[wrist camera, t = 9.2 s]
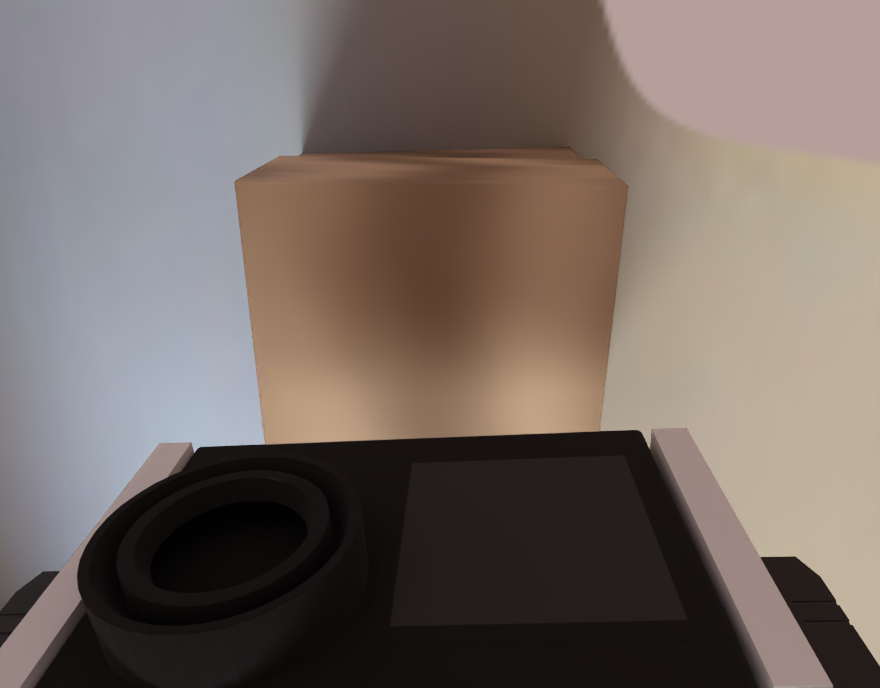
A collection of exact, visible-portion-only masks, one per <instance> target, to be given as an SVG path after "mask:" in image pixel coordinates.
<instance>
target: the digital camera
mask: <svg viewBox="0 0 880 688" xmlns="http://www.w3.org/2000/svg"><path fill="white" fill-rule="evenodd" d="M77 584H78V591H79V593H80V596H81V598H82V601H83V603H84V606H85V608H86V613H85V614H84V616H83V617H82V619H81V620H80V621H79V623H78V624H77V626H76V627H75V629H74V630H73V632H72V633H71V635H70V636H69V638H68V639H67V641H66V642H65V644H64V645H63V646H62V648H61V649H60V651H59V652H58V654H57V655H56V657H55V658H54V660H53V661H52V663H51V664H50V666H49V667H48V669H47V670H46V671H45V673H44V674H43V676H42V677H41V679H40V680H39V682H38V683H37V685H36V686H35V688H758V686H757V684H756V682H755V679H754V677H753V675H752V672H751V670H750V667H749V665H748V663H747V660H746V658H745V656H744V653H743V651H742V648H741V646H740V644H739V641H738V639H737V637H736V635H735V632H734V630H733V628H732V626H731V624H730V622H729V620H728V617H727V615H726V613H725V611H724V609H723V607H722V604H721V602H720V600H719V598H718V596H717V594H716V592H715V589H714V587H713V585H712V583H711V581H710V579H709V576H708V574H707V572H706V570H705V568H704V566H703V564H702V561H701V559H700V557H699V555H698V553H697V551H696V548H695V546H694V544H693V542H692V540H691V538H690V536H689V533H688V531H687V529H686V527H685V525H684V523H683V520H682V518H681V516H680V514H679V512H678V510H677V508H676V505H675V503H674V501H673V499H672V497H671V495H670V492H669V490H668V488H667V486H666V484H665V482H664V480H663V477H662V475H661V473H660V471H659V469H658V467H657V464H656V462H655V460H654V458H653V456H652V454H651V452H650V449H649V447H648V445H647V443H646V441H645V439H644V436H643V434H642V433H641V432H640V431H637V430H627V431H595V432H568V433H542V434H517V435H491V436H466V437H440V438H414V439H389V440H363V441H338V442H314V443H290V444H265V445H241V446H217V447H200V448H198V449H197V450H196V452H195V453H194V454H193V456H192V457H191V458H190V460H189V461H188V463H187V464H186V466H185V467H184V469H183V470H182V471H181V472H178V473H176V474H173V475H171V476H169V477H167V478H165V479H163V480H161V481H159V482H156V483H154V484H153V485H151V486H149V487H148V488H146V489H144V490H143V491H141V492H140V493H138V494H136V495H135V496H134V497H132V498H131V499H129V500H128V501H126V502H125V503H124V504H122V505H121V506H120V507H119V508H118V509H116V510H115V511H114V512H113V513H112V514H111V515H110V516H109V517H107V518H106V520H105V521H104V522H103V523H102V524H101V525H100V527H99V528H98V529H97V530H96V531H95V533H94V534H93V536H92V537H91V539H90V540H89V542H88V544H87V545H86V547H85V549H84V551H83V554H82V556H81V558H80V560H79V566H78V571H77Z"/></svg>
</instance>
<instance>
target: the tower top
mask: <svg viewBox="0 0 880 688" xmlns="http://www.w3.org/2000/svg"><path fill="white" fill-rule="evenodd" d="M234 182H235V190H236V199H237V208H238V216H239V225H240V233H241V242H242V251H243V259H244V268H245V276H246V285H247V294H248V302H249V311H250V319H251V328H252V337H253V345H254V354H255V362H256V371H257V380H258V388H259V397H260V405H261V414H262V423H263V431H264V440H265V444H290V443H314V442H338V441H363V440H389V439H414V438H440V437H466V436H491V435H517V434H542V433H568V432H595V431H600V425H601V416H602V407H603V399H604V390H605V381H606V373H607V364H608V356H609V347H610V338H611V330H612V321H613V313H614V304H615V295H616V287H617V278H618V269H619V261H620V252H621V244H622V235H623V226H624V218H625V209H626V200H627V192H628V186H627V185H626V184H625V183H624V182H623V181H622V180H620V179H619V178H618V177H617V176H616V175H615V174H613V173H612V172H611V171H610V170H609V169H608V168H606V167H605V166H604V165H603V164H602V163H601V162H599V161H598V160H597V159H513V158H422V157H330V156H279V157H277V158H275V159H273V160H272V161H270V162H268V163H266V164H264V165H263V166H261V167H259V168H257V169H256V170H254V171H252V172H250V173H248V174H247V175H245V176H243V177H241V178H239V179H238V180H236V181H234Z"/></svg>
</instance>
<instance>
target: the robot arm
mask: <svg viewBox="0 0 880 688" xmlns="http://www.w3.org/2000/svg"><path fill="white" fill-rule="evenodd" d="M650 452H651V454H652V456H653V458H654V460H655V462H656V464H657V467H658V469H659V471H660V473H661V475H662V477H663V480H664V482H665V484H666V486H667V488H668V490H669V492H670V495H671V497H672V499H673V501H674V503H675V505H676V508H677V510H678V512H679V514H680V516H681V518H682V520H683V523H684V525H685V527H686V529H687V531H688V533H689V536H690V538H691V540H692V542H693V544H694V546H695V548H696V551H697V553H698V555H699V557H700V559H701V561H702V564H703V566H704V568H705V570H706V572H707V574H708V576H709V579H710V581H711V583H712V585H713V587H714V589H715V592H716V594H717V596H718V598H719V600H720V602H721V604H722V607H723V609H724V611H725V613H726V615H727V617H728V620H729V622H730V624H731V626H732V628H733V630H734V632H735V635H736V637H737V639H738V641H739V644H740V646H741V648H742V651H743V653H744V656H745V658H746V660H747V663H748V665H749V667H750V670H751V672H752V675H753V677H754V679H755V682H756V684H757V686H758V688H880V666H879V665H878V663H877V662H876V660H875V659H874V657H873V656H872V654H871V653H870V651H869V650H868V648H867V647H866V645H865V643H864V642H863V640H862V639H861V637H860V636H859V634H858V633H857V631H856V630H855V628H854V627H853V625H850V624H849V619H848V618H847V616H846V615H845V613H844V612H843V610H842V609H841V607H840V606H839V605H837V604H836V600H835V598H834V597H833V595H832V594H831V592H830V591H829V589H828V588H827V586H826V585H825V583H824V582H823V580H822V578H821V577H820V576H819V575H817V574H816V573H815V572H814V571H812V570H811V569H810V568H809V567H808V566H806V565H805V564H804V563H803V562H801V561H800V560H799V559H798V558H796V557H760V556H759V555H758V553H757V551H756V549H755V548H754V546H753V544H752V542H751V540H750V539H749V537H748V535H747V533H746V532H745V530H744V528H743V526H742V525H741V523H740V521H739V519H738V518H737V516H736V514H735V512H734V511H733V509H732V507H731V505H730V504H729V502H728V500H727V498H726V497H725V495H724V493H723V491H722V489H721V488H720V486H719V484H718V482H717V481H716V479H715V477H714V475H713V474H712V472H711V470H710V468H709V467H708V465H707V463H706V461H705V460H704V458H703V456H702V454H701V453H700V451H699V449H698V447H697V446H696V444H695V442H694V440H693V438H692V437H691V435H690V433H689V431H688V430H687V428H672V429H652V433H651V446H650ZM193 454H194V451H193V447H192V443H160V444H159V445H158V446H157V448H156V449H155V450H154V451H153V453H152V454H151V455H150V456H149V458H148V459H147V460H146V462H145V463H144V464H143V465H142V467H141V468H140V469H139V471H138V472H137V473H136V474H135V476H134V477H133V478H132V480H131V481H130V482H129V483H128V485H127V486H126V487H125V489H124V490H123V491H122V492H121V494H120V495H119V496H118V498H117V499H116V500H115V501H114V503H113V504H112V505H111V507H110V508H109V509H108V510H107V512H106V513H105V514H104V516H103V517H102V518H101V519H100V521H99V522H98V523H97V524H96V526H95V527H94V528H93V530H92V531H91V532H90V533H89V535H88V536H87V537H86V539H85V540H84V541H83V542H82V544H81V545H80V546H79V548H78V549H77V550H76V551H75V553H74V554H73V555H72V557H71V558H70V559H69V560H68V562H67V563H66V564H65V566H64V567H63V568H62V569H61V571H52V572H42V573H41V574H39V575H38V576H37V577H35V578H34V579H33V580H31V581H30V582H29V583H27V584H26V585H25V586H23V587H22V588H21V589H19V590H18V591H17V592H16V593H15V594H14V595H13V597H12V598H11V599H10V600H9V601H8V603H7V604H6V605H5V606H4V607H3V609H2V610H1V611H0V688H35V686H36V685H37V683H38V682H39V680H40V679H41V677H42V676H43V674H44V673H45V671H46V670H47V669H48V667H49V666H50V664H51V663H52V661H53V660H54V658H55V657H56V655H57V654H58V652H59V651H60V649H61V648H62V646H63V645H64V644H65V642H66V641H67V639H68V638H69V636H70V635H71V633H72V632H73V630H74V629H75V627H76V626H77V624H78V623H79V621H80V620H81V619H82V617H83V616H84V614H85V613H86V608H85V606H84V603H83V601H82V598H81V596H80V593H79V591H78V584H77V571H78V566H79V560H80V558H81V556H82V554H83V551H84V549H85V547H86V545H87V544H88V542H89V540H90V539H91V537H92V536H93V534H94V533H95V531H96V530H97V529H98V528H99V527H100V525H101V524H102V523H103V522H104V521H105V520H106V518H107V517H109V516H110V515H111V514H112V513H113V512H114V511H115V510H116V509H118V508H119V507H120V506H121V505H122V504H124V503H125V502H126V501H128V500H129V499H131V498H132V497H134V496H135V495H136V494H138V493H140V492H141V491H143V490H144V489H146V488H148V487H149V486H151V485H153V484H154V483H156V482H159V481H161V480H163V479H165V478H167V477H169V476H171V475H173V474H176V473H178V472H181V471H182V470H183V469H184V467H185V466H186V464H187V463H188V461H189V460H190V458H191V457H192V456H193Z"/></svg>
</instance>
